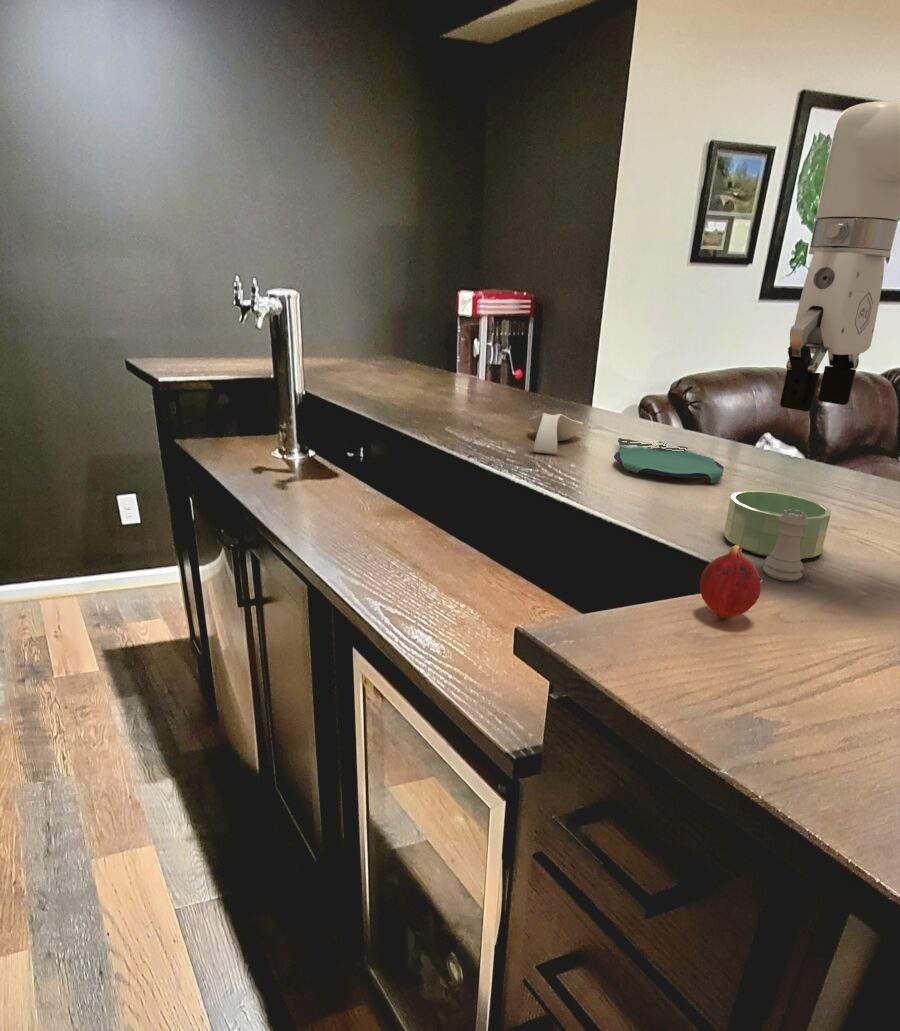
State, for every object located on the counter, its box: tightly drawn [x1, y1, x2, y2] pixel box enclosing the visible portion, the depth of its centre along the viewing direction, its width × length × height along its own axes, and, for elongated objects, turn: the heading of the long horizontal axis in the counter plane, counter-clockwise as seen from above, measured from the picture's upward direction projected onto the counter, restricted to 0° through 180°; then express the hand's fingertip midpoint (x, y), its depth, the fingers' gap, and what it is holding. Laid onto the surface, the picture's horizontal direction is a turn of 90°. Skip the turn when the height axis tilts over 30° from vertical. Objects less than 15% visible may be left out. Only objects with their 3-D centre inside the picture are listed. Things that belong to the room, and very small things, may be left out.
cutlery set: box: [613, 437, 725, 485], centre depth 140 cm, size 20×30×2 cm, turn 171°
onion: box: [699, 544, 762, 620], centre depth 74 cm, size 6×6×8 cm
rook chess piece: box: [762, 509, 808, 582], centre depth 87 cm, size 4×4×8 cm
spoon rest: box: [528, 412, 584, 455], centre depth 152 cm, size 24×12×7 cm, turn 167°
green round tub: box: [723, 490, 831, 560], centre depth 97 cm, size 12×12×6 cm
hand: (814, 405), depth 80 cm, fingers open, 9 cm apart
